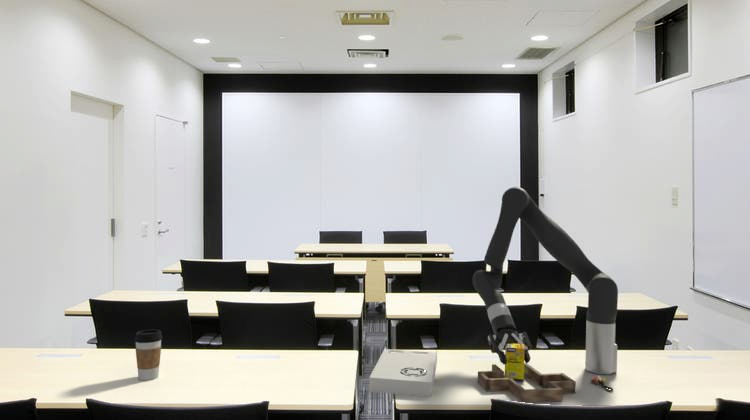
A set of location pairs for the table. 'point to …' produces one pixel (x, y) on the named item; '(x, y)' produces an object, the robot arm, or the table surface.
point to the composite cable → (600, 382)
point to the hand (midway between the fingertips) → (516, 362)
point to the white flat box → (404, 373)
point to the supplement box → (514, 361)
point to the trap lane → (550, 383)
